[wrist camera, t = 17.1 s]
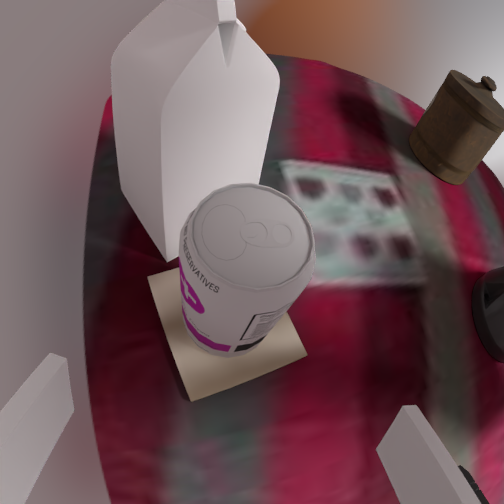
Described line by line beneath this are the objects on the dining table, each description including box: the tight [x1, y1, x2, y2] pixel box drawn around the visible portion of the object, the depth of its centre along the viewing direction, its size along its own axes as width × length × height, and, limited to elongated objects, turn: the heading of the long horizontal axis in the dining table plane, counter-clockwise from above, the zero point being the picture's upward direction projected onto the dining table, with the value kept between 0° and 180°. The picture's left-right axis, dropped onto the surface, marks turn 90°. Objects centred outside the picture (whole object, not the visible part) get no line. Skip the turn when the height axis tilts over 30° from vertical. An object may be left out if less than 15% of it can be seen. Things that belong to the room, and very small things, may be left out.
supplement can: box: [179, 183, 316, 358], centre depth 24 cm, size 8×8×15 cm
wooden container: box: [409, 70, 504, 185], centre depth 45 cm, size 15×15×22 cm
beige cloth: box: [147, 268, 307, 402], centre depth 30 cm, size 13×12×1 cm
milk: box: [111, 0, 280, 262], centre depth 26 cm, size 12×12×26 cm
